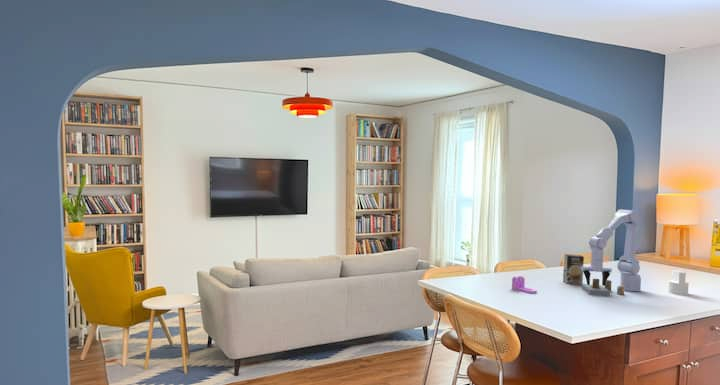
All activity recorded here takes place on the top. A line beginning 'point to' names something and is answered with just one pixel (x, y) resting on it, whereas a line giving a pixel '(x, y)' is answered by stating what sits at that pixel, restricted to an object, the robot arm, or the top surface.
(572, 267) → the coffee box
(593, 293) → the hole board
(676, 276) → the base with upright slab
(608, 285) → the mid dowel
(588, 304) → the top surface
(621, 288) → the short dowel
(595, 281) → the tall dowel
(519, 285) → the bracket
